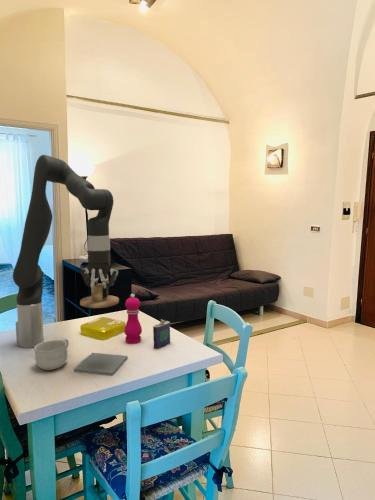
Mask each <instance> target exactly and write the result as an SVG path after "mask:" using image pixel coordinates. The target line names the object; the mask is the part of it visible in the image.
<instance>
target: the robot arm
mask: <svg viewBox="0 0 375 500" xmlns="http://www.w3.org/2000/svg"><path fill="white" fill-rule="evenodd" d="M32 180H33V182H32V188H31V189H32V190H31V195H30V201H29V205H28V210H27V213H26V217H25V221H24V226H23V227H24V228H23V231H22V232H23V233H22V238H21V245H20V249H19V250H20V251H19V253H18V257H17V260H16V263H15V265H14V269H13V271H12V280H13V282H14V284H15V285H16V286H17V287H18V293H17V295H16V312H17V321H15V338H16V346H19V347H20V348H24V349H25V348H26V349H32V348H34V347H35V346H36V345H38V344H39V343H42V342H45V340H44V324H43V323H44V319H43V301H42V299H43V292H44V291H43V289H44V283H43V281H44V280H43V279H44V278H43V277H44V276H43V270H42V268H41V266H40V265H39V261H40V256H41V252H42V250H43V248H44V246H45V244H46V241H47V240H48V237H49V234H50V231H51V226H52V222H53V213H52V209H51V207H50V204H49V202H48V197H47V193H46V192H47V182H50V183H55V184H61V185H64V186H65V187H66V190H67V192H68V193H70V195H72V196H73V197H75V198H76V199H77V200H78V202H79V203H80V204H81V207H82V208H84V209H85V210H88V211H98V213H97V214H96V215H95V216H94V217H91V218H88V220H87V241H86V245H87V246H86V247H87V248H86V249H87V265H86V267H85V268H82V269H80V270H79V272H80V274H81V277H82V279H83V282H84V284H85V285H86V286H88V287H90V288H91V287H93V286H95V285H97V284H98V280H99V279H100V282H101V284H102V285H103V299H106V298H107V297H108V295H110V294H109V288H111V287H112V286H114V285H115V282H116V280H117V278H118V276H119V272H120V271H119V269H114V268H112V265H111V241H110V239H111V238H110V225H109V224H110V219H111V216H112V212H113V207H114V196H113V194H112V192H111V191H110V190H109V189H106V188H105V189H104V188H96V187H95V186H94V185H93V184H92V183H91V182H90V181H89V180H87V179H85V178H84V177H82V176H80V175H79V174H77V173H76V172H75V171H74V170H73V168H71V167H70V165H68V163H67V162H66V161H64V160H62V159H60V158H56V157H54V156H50V155H47V154H41V155H39V157H38V158H37V160H36V164H35V167H34V173H33V179H32ZM109 273H110V278H109Z"/></svg>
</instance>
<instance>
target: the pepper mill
mask: <svg viewBox="0 0 375 500" xmlns="http://www.w3.org/2000/svg"><path fill="white" fill-rule="evenodd" d="M124 303H125V308H126V313H127V321H126V322H125V323H126V326H125V329H124V332H123V334H124V335H126V336H125V342H126V343H127V344H130V345H131V344H132V345H133V344H138V343H140V342H141V341H142V337H141V335H142V332H143V329H142V325H141V322H140V319H139V313H140V309H139V308H140V306H141V301H140V300H139V298H137V297H135V294H134V293H131V294H130V297H128V298H127V299H126V300H125V302H124Z"/></svg>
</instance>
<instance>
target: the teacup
mask: <svg viewBox="0 0 375 500" xmlns="http://www.w3.org/2000/svg"><path fill="white" fill-rule="evenodd" d="M68 348H69V340H68V338H61V339H51V340H46V341H45V340H44V342H42V343H39V344H38V345H36V346H35V347H33V351H34V356H35V358H34V359H35V362H36V364H37V366H38V367H39V368H40V369H43V370H45V371H52V370H56V369H59V368H61V367H62V366H63V365H64V364H65V363H66V362H67V361H68Z"/></svg>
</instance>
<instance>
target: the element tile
mask: <svg viewBox="0 0 375 500" xmlns="http://www.w3.org/2000/svg"><path fill="white" fill-rule="evenodd" d="M126 323H127V322H125V321H123V320H120V319H119V320H118V319H114V318H110V317H104V316H102V317H98V318H96V319H94V320H91V321H87V322H85V323H82V324H80V325H79V326H80V335H81V336H85V337H88V338H93V339H95V340H100V341H106V340H109V339H111V338H113V337H116V336H118V335H121V334H122V333H123V334H124V329H125V326H126Z"/></svg>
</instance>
